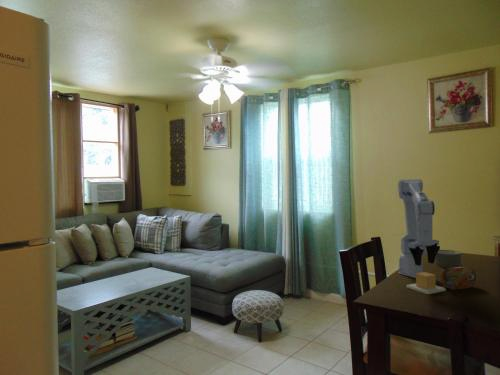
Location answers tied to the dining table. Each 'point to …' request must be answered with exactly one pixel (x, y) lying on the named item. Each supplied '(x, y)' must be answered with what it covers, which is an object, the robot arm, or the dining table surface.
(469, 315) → the dining table surface
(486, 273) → the dining table surface
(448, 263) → the can
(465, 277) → the tin
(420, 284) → the yellow-orange cube block
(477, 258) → the dining table surface
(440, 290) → the base plate
